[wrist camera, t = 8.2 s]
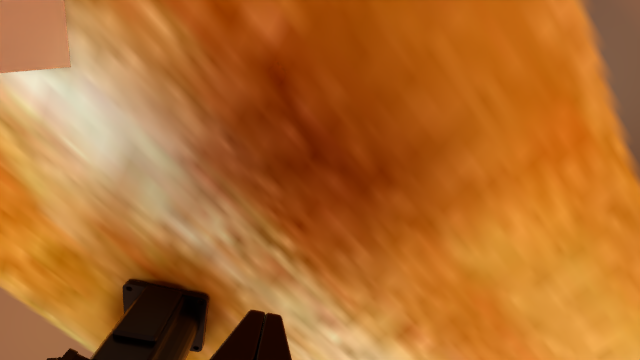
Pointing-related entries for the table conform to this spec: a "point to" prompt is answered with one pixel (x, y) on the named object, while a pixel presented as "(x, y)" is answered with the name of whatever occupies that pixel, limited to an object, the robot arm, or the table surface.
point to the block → (33, 35)
